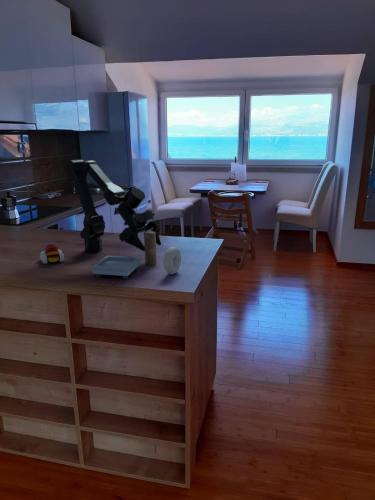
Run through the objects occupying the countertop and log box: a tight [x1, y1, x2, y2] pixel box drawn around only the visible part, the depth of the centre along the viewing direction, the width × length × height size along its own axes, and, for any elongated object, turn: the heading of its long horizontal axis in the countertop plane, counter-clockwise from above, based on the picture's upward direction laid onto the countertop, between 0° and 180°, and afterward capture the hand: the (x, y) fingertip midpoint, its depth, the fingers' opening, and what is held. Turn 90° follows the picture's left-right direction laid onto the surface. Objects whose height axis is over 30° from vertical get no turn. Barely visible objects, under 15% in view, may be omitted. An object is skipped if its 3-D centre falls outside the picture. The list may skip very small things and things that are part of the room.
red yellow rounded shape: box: [39, 243, 65, 265], centre depth 153 cm, size 8×10×7 cm
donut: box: [163, 246, 182, 275], centre depth 138 cm, size 10×4×10 cm, turn 156°
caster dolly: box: [91, 255, 141, 280], centre depth 140 cm, size 13×13×4 cm
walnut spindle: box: [143, 231, 158, 267], centre depth 148 cm, size 4×4×12 cm
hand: (152, 247), depth 147 cm, fingers open, 9 cm apart
